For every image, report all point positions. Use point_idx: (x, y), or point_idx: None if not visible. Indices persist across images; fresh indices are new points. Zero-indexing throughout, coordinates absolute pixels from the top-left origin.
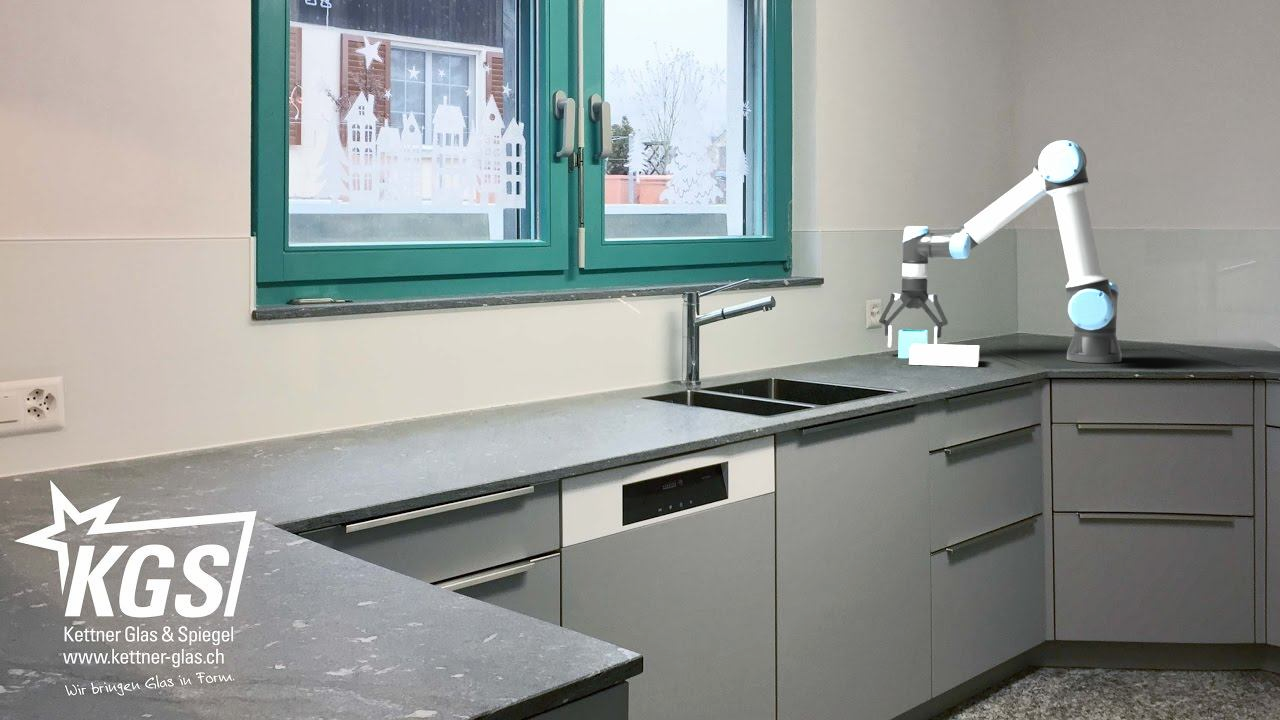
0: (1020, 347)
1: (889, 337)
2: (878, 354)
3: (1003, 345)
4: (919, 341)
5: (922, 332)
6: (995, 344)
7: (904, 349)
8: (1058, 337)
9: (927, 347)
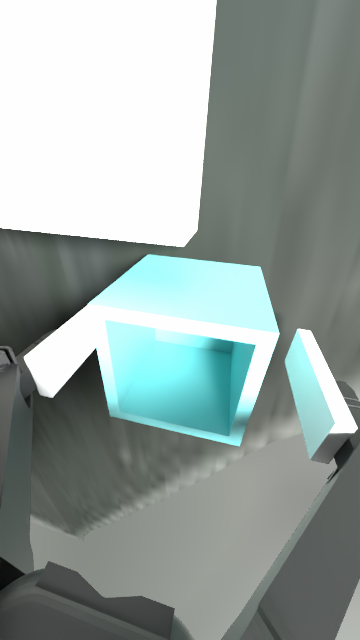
0: None
1: (318, 362)
2: None
3: (49, 471)
4: (149, 284)
5: (110, 306)
6: (63, 480)
7: (233, 278)
8: None
9: (107, 205)
